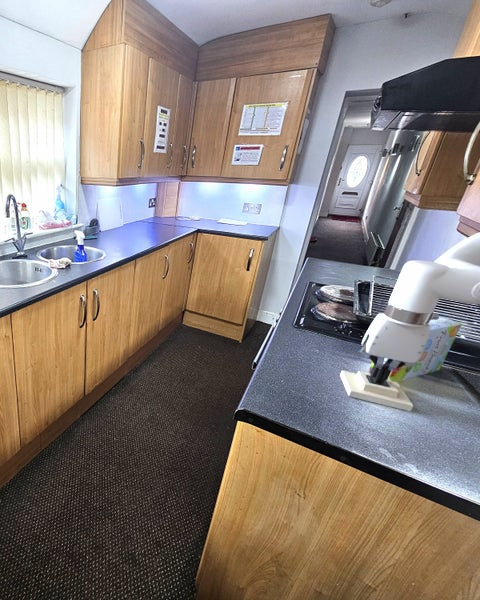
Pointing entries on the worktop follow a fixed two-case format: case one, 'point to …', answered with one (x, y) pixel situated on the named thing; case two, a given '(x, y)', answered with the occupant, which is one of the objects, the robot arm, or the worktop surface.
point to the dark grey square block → (376, 382)
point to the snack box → (429, 350)
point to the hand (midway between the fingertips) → (376, 380)
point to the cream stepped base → (375, 391)
